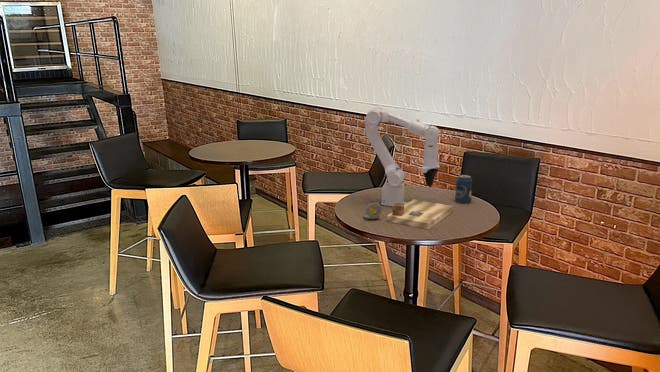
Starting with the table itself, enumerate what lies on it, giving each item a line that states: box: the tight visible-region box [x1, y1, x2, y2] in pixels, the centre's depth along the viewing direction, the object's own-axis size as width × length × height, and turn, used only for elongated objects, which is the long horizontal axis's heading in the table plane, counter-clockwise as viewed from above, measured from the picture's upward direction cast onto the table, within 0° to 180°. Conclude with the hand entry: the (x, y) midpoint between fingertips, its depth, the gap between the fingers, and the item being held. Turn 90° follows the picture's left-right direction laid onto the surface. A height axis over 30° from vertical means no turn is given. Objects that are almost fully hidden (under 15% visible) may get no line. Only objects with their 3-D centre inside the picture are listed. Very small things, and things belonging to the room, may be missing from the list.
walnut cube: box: [391, 203, 404, 216], centre depth 204 cm, size 4×4×4 cm
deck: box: [386, 198, 454, 231], centre depth 209 cm, size 18×26×2 cm
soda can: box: [454, 174, 473, 205], centre depth 226 cm, size 7×7×12 cm
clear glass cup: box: [363, 196, 383, 220], centre depth 206 cm, size 8×8×10 cm
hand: (429, 185), depth 218 cm, fingers closed
